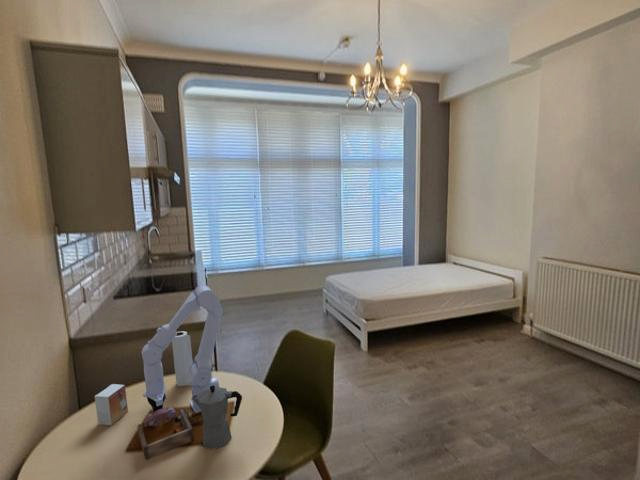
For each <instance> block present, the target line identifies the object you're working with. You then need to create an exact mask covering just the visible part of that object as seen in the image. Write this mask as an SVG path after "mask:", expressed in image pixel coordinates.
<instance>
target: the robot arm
mask: <svg viewBox="0 0 640 480" xmlns="http://www.w3.org/2000/svg"><path fill="white" fill-rule="evenodd" d="M201 307H202V308H203V309H205V310H206V312H207V316H206V320H205V324H204V327H203V331H202V335H201V339H200V343H199V346H198V350H197V351H198V352H197V354H196V355H195V356H194V360H193V363H192V364H191V366H190V373H191V375H192V377H193V379H192V381H191V384H190V388H191V398H192V397H193V396H195V395H197V394H200V393H202V392H203V391H204V390H207V389H210V386H212V385H214V386H215V387H220V384H219V381H218V378H217V377H216V376H213V375H212V367H213V365H212V363H213V362H212V358H213V353H214V349H215V344H216V341H217V338H218V333H219V330H220V325H221V321H222V316H223V312H224V310H223V307H222V304H221V302H220V298H219V296H218V295H217V294H216V293H215V291H213V290H212V289H211V288H210V287H209V286H208V285H206V284H201V285H198V286H196V287H195V289H194V290H193V291H192V292H191V293H190V294H189V295H188V297H187V298H186V299H185V301H184V302H183V304H182V305H181V306H180V307H179V309H178V311H177V312H175V315H174V316H173V318H172V319H171V320H170V322H169V323H167V324H163V325H161V327H157V329H156V333H155V334H154V336H153V337H152V338H151V339H150V340H148V341H147V343H146V344H145V345H144V346H143V347H142V350H141V355H142V361H143V374H144V381H145V382H144V383H145V391H144V392H142V398H146V399H147V402H148V404H149V405H150V406H151V408H152V411H153V412H155V411H157V410H159V409H164V408H163V407H164V403H165V400H166V399H167V395H166V386H165V379H164V369H163V363H162V361H161V360H162V358H163V352H164V351H165V350H166V349H167V348H168V347H169V346H170V344H172V340H173V339H174V338H175V336H176V335H177V332H178V330H177V329H178V328H179V327H180V326H181V325H182V323H184V322H185V321H186V319H187V318H188V317H189V316H190V314H191V313H192V312H196V311H201V310H202V308H201ZM189 404H190V406H191V408H192V409H193V410H192V411H193V413H195V414H199V413H202V412H201V409H200V407H199V406H198V405H197V404H196V403H195V401H194V400H191V401H189ZM153 412H152V413H153Z"/></svg>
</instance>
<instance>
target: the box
mask: <svg viewBox="0 0 640 480" xmlns="http://www.w3.org/2000/svg"><path fill="white" fill-rule="evenodd" d="M179 415H180V421H181V420H182V422H183V424H182V426H183V425H184V426H183V428H184V427H185V428H184V429H182V430H181V431H178V432H176V433H173V434H171V435H169V436H167V437H166V436H165V437H162V438H161V439H157V440H156V441H154V442H151V443H148V444H147V441H146V436H145V434H144V429H143V426H142V424H141V423H139V424H137V432H138V437H139V442H140V445H141V450H142V454H143V458H144V461H148V460H150V459H152V458H155V457H157V456H159V455H162V454H164V453H167V452H169V451H172V450H174V449H177V448H179V447H181V446H183V445H186V444H189V443H191V442H194V441H195V438H194V428H193V426H192V425H191V423H190V420H189V419H188V416H187V414H186V412H185V410H184V408H180V409H179ZM182 422H181V423H182ZM193 440H194V441H193Z"/></svg>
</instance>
